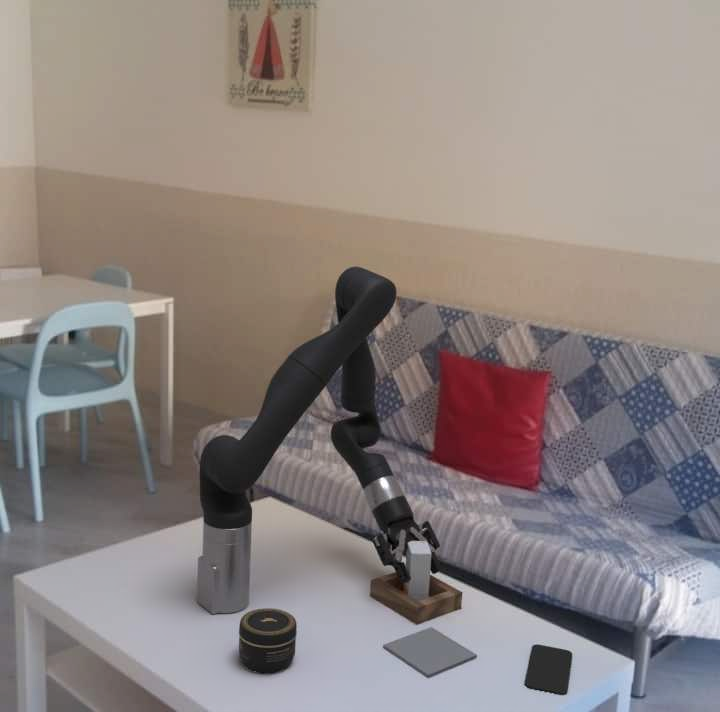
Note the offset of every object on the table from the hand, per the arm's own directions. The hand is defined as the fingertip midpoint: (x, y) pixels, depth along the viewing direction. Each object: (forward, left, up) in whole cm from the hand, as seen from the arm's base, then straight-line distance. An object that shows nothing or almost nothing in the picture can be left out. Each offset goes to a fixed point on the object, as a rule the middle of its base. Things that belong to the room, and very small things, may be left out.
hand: (422, 576), depth 191 cm
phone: (+3, -31, -7) cm, 31 cm away
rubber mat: (-11, -15, -6) cm, 19 cm away
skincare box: (0, +1, -6) cm, 6 cm away
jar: (-37, -1, -6) cm, 38 cm away
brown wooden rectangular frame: (0, +1, -6) cm, 6 cm away
